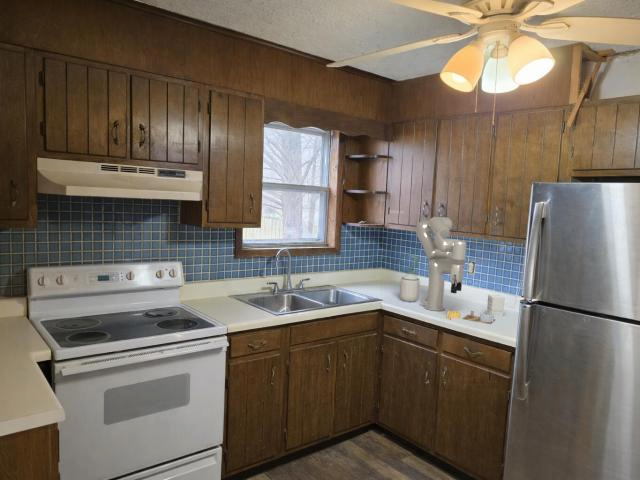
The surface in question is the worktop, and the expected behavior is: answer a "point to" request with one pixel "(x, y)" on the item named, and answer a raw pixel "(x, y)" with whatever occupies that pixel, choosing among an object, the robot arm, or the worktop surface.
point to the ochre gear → (453, 314)
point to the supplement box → (496, 305)
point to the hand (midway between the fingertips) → (456, 291)
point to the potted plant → (410, 284)
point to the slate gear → (486, 317)
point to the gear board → (476, 318)
